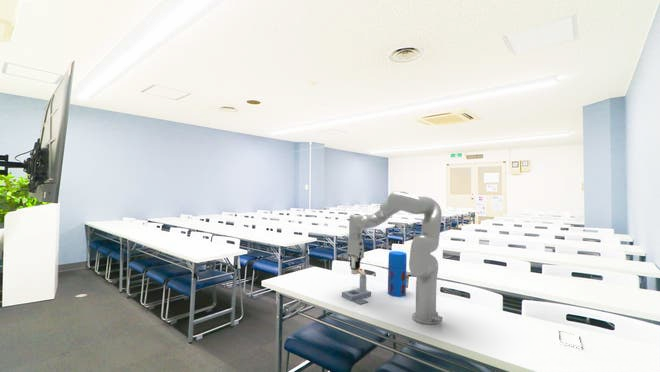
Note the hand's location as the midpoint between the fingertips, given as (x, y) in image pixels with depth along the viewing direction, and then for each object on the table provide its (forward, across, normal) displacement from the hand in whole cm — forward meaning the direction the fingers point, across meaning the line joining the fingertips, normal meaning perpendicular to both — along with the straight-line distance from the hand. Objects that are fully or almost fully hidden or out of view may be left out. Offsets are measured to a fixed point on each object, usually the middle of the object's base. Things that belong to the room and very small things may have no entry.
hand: (354, 266), depth 171 cm
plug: (+4, 0, 0) cm, 4 cm away
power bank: (+19, -89, -46) cm, 102 cm away
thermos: (+18, -10, -26) cm, 33 cm away
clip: (+6, +5, -9) cm, 13 cm away
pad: (+18, -8, +2) cm, 19 cm away
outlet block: (+18, 0, -2) cm, 18 cm away
